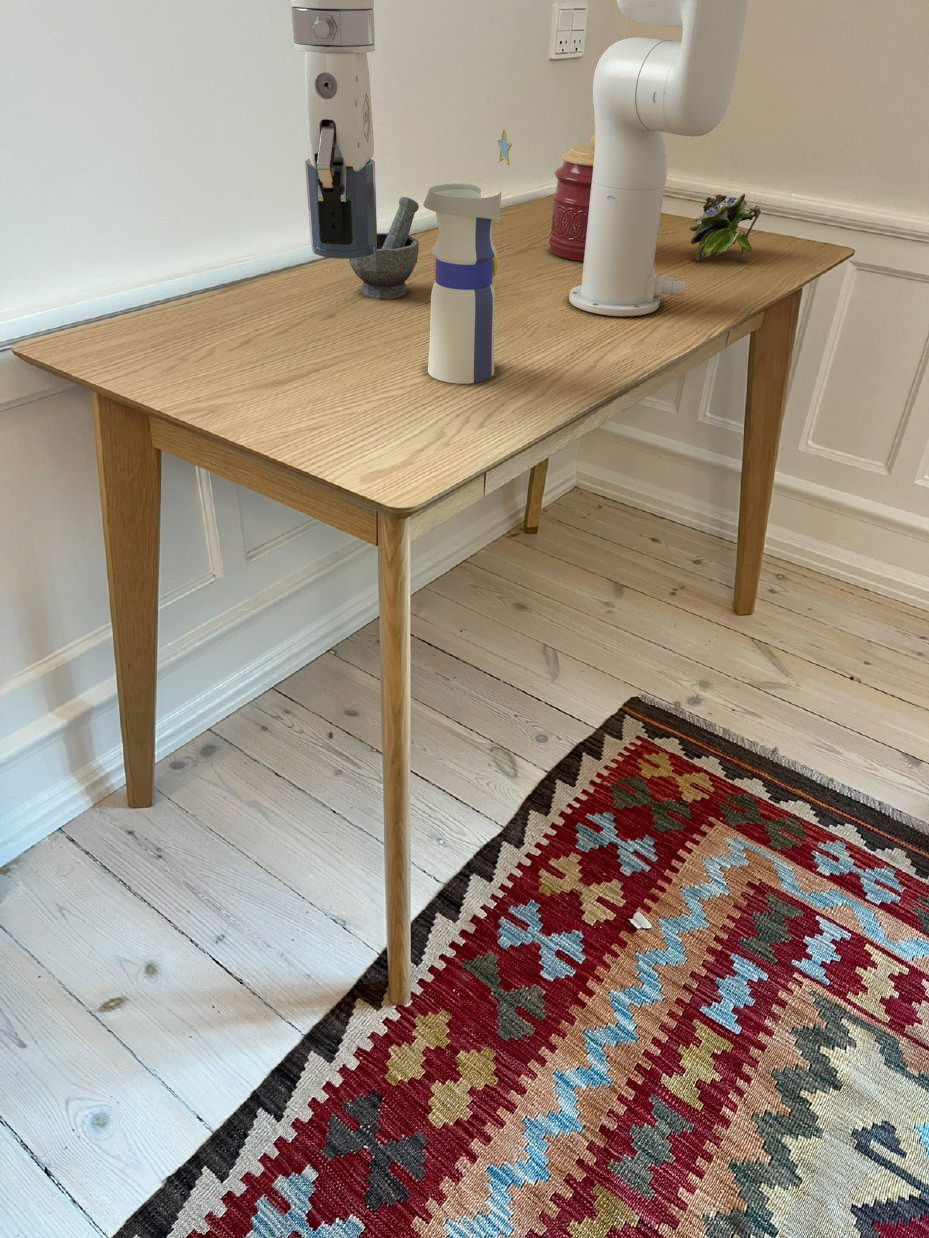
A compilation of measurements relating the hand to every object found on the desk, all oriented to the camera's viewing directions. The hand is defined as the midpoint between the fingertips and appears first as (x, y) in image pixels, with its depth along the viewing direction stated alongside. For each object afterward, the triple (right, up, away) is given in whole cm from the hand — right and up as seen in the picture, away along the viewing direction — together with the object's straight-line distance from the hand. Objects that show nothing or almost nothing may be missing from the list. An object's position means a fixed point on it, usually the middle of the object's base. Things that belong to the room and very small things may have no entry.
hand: (343, 232), depth 96 cm
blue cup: (0, -1, +1) cm, 2 cm away
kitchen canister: (+33, +20, +56) cm, 68 cm away
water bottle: (+12, -11, +11) cm, 20 cm away
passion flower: (+55, +19, +56) cm, 81 cm away
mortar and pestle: (+2, +6, +36) cm, 36 cm away
